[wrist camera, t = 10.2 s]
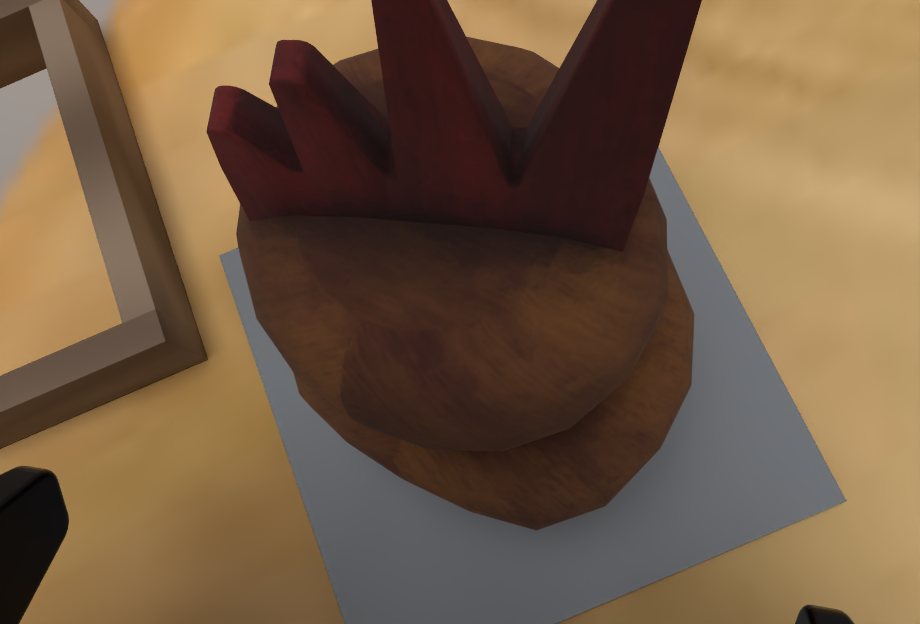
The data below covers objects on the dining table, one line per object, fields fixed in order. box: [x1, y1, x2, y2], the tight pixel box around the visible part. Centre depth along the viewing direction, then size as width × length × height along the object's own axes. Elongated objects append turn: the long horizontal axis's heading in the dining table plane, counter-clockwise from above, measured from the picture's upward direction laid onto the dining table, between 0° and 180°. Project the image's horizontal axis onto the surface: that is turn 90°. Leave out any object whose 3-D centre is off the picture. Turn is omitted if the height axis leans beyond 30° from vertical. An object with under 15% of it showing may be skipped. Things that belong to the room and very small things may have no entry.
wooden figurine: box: [207, 0, 702, 530], centre depth 11 cm, size 7×6×15 cm
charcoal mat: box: [220, 148, 846, 624], centre depth 19 cm, size 11×11×1 cm
